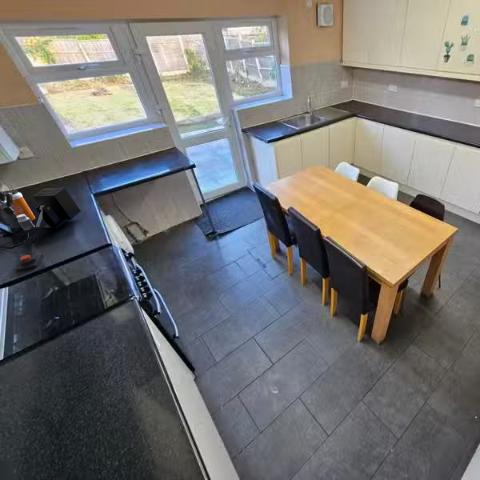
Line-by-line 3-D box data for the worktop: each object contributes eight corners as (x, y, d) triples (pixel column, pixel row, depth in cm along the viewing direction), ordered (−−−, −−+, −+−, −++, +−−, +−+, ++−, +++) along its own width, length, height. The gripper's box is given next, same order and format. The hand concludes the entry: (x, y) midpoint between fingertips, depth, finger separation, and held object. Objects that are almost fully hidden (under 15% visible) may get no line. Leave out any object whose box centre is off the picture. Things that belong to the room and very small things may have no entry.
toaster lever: (43, 229, 161) (40, 228, 159) (33, 230, 161) (29, 228, 159) (51, 207, 167) (47, 205, 164) (40, 207, 166) (37, 205, 164)
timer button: (30, 260, 141) (27, 258, 139) (21, 262, 139) (19, 260, 138) (32, 256, 143) (30, 253, 142) (24, 258, 142) (21, 255, 141)
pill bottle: (36, 227, 170) (27, 214, 165) (25, 231, 166) (16, 218, 161) (33, 225, 172) (24, 213, 167) (22, 229, 169) (13, 216, 164)
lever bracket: (56, 228, 169) (42, 210, 160) (43, 229, 168) (28, 210, 160) (67, 219, 176) (54, 201, 168) (54, 220, 176) (40, 202, 167)
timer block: (38, 268, 141) (32, 262, 139) (18, 272, 139) (13, 267, 136) (44, 256, 148) (39, 251, 146) (26, 260, 146) (20, 255, 143)
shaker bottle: (25, 217, 180) (5, 189, 169) (40, 215, 181) (21, 188, 170) (15, 223, 172) (-6, 195, 161) (31, 222, 174) (11, 193, 162)
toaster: (71, 219, 177) (53, 195, 165) (51, 220, 176) (31, 196, 165) (81, 211, 184) (64, 187, 173) (61, 212, 184) (43, 188, 172)
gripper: (-39, 192, 131) (-5, 222, 138) (-9, 178, 134) (22, 208, 142) (-28, 192, 138) (3, 220, 145) (0, 178, 141) (29, 206, 148)
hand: (13, 214), depth 143 cm, fingers closed
